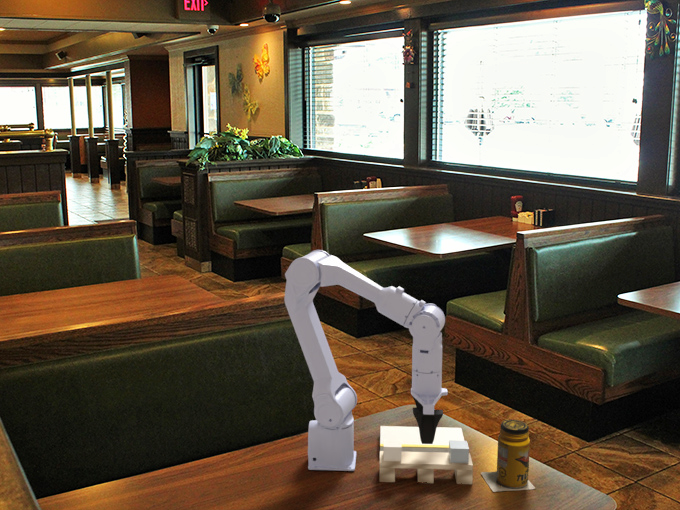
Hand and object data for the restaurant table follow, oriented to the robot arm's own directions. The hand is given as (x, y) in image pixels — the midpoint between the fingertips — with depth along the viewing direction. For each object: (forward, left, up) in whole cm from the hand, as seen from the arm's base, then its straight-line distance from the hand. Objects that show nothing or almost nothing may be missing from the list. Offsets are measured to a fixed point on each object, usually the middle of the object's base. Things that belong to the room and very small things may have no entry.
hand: (426, 434), depth 137 cm
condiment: (+16, -1, -9) cm, 18 cm away
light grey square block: (+6, 0, -5) cm, 8 cm away
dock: (0, +14, -9) cm, 16 cm away
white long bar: (0, 0, -9) cm, 9 cm away
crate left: (-7, 0, -5) cm, 8 cm away
